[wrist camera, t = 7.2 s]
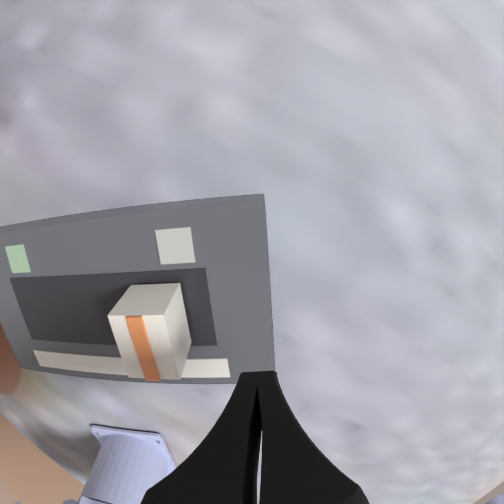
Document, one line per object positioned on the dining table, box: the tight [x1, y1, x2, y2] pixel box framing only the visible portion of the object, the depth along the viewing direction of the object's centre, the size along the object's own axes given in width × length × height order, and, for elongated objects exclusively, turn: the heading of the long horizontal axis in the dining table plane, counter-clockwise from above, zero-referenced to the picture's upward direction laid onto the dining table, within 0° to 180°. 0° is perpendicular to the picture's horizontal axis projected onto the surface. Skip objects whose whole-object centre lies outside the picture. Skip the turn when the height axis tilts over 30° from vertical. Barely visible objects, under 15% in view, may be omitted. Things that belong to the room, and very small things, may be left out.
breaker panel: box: [0, 194, 275, 384], centre depth 20 cm, size 12×22×3 cm, turn 95°
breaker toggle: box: [108, 283, 191, 382], centre depth 17 cm, size 4×3×4 cm
